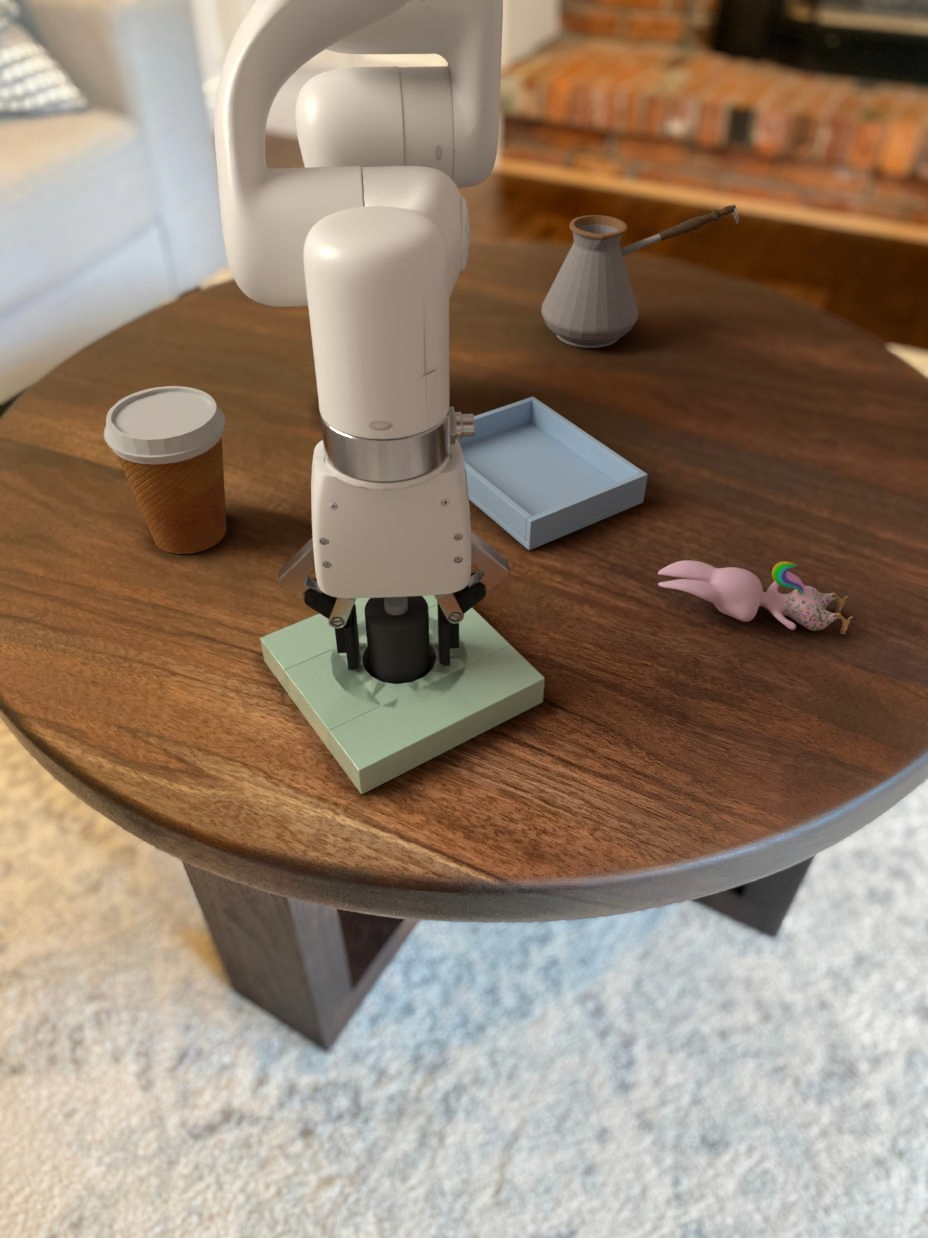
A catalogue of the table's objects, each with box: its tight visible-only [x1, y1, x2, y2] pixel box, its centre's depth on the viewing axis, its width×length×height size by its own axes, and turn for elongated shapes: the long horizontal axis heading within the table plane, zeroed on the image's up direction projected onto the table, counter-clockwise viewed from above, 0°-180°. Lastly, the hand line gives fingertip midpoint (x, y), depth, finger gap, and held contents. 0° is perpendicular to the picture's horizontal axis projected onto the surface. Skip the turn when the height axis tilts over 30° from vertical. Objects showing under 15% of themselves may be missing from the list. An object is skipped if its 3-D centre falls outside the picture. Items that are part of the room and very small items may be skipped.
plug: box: [364, 596, 431, 684], centre depth 67 cm, size 4×4×8 cm
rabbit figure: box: [657, 559, 853, 635], centre depth 73 cm, size 6×6×15 cm
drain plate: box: [259, 595, 546, 795], centre depth 69 cm, size 15×15×2 cm
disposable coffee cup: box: [103, 385, 228, 555], centre depth 79 cm, size 10×10×12 cm
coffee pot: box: [540, 204, 740, 349], centre depth 108 cm, size 21×12×15 cm, turn 91°
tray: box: [457, 396, 648, 551], centre depth 88 cm, size 17×13×3 cm
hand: (398, 652), depth 67 cm, fingers open, 5 cm apart
